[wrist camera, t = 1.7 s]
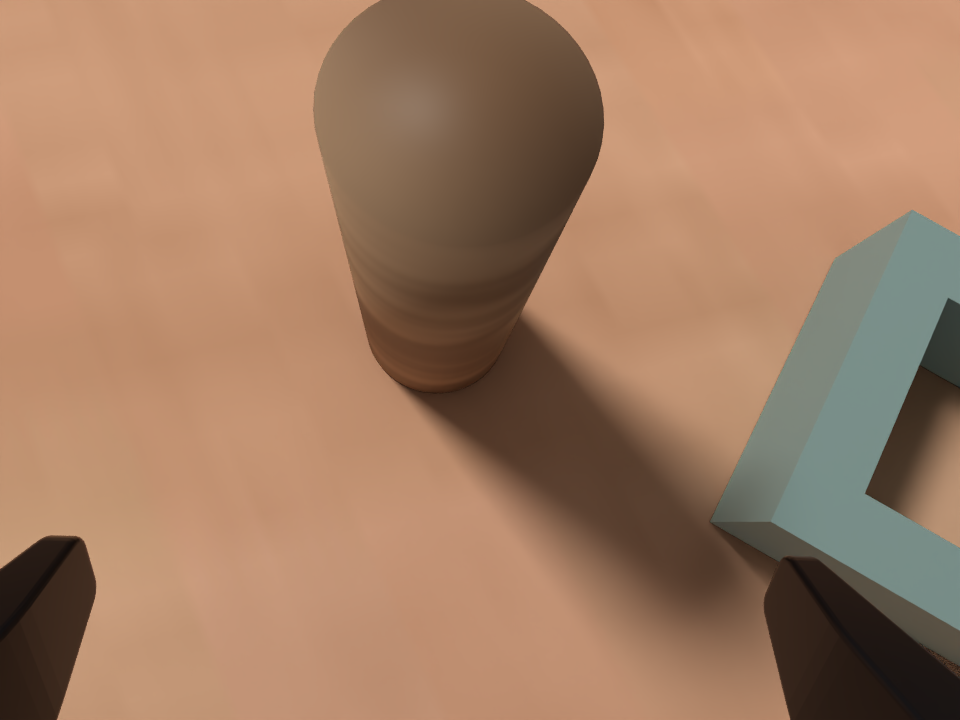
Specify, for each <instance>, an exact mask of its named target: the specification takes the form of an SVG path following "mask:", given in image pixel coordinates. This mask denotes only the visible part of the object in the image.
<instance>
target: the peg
mask: <svg viewBox="0 0 960 720" xmlns="http://www.w3.org/2000/svg"><path fill="white" fill-rule="evenodd" d="M313 112H314V124H315V131H316V135H317V139H318V143H319V148H320V151H321V155H322V159H323V163H324V167H325V171H326V175H327V179H328V183H329V187H330V191H331V195H332V199H333V203H334V207H335V211H336V215H337V219H338V223H339V227H340V231H341V235H342V239H343V243H344V247H345V251H346V254H347V258H348V262H349V266H350V270H351V274H352V278H353V282H354V286H355V290H356V294H357V298H358V302H359V306H360V310H361V314H362V318H363V322H364V326H365V330H366V334H367V338H368V342H369V345H370V348H371V350H372V353H373V355H374V357H375V358H376V360H377V362H378V363H379V364H380V366H381V367H382V368H383V369H384V371H385V372H386V373H387V374H388V375H390V376H391V377H392V378H393V379H395V380H396V381H397V382H399V383H401V384H403V385H404V386H407V387H409V388H411V389H414V390H418V391H421V392H427V393H447V392H452V391H456V390H460V389H462V388H465V387H467V386H469V385H471V384H473V383H475V382H476V381H478V380H479V379H480V378H482V377H483V376H484V375H485V374H486V373H487V372H488V371H489V370H490V369H491V367H492V366H493V365H494V364H495V362H496V360H497V359H498V357H499V355H500V353H501V351H502V349H503V347H504V345H505V343H506V341H507V339H508V337H509V335H510V333H511V331H512V330H513V328H514V326H515V324H516V322H517V320H518V318H519V316H520V314H521V312H522V310H523V308H524V306H525V304H526V302H527V300H528V298H529V296H530V294H531V292H532V290H533V288H534V286H535V284H536V282H537V280H538V278H539V276H540V274H541V272H542V270H543V268H544V266H545V264H546V262H547V260H548V258H549V257H550V255H551V253H552V251H553V249H554V247H555V245H556V243H557V241H558V239H559V237H560V235H561V233H562V231H563V229H564V227H565V225H566V223H567V221H568V219H569V217H570V215H571V213H572V211H573V209H574V207H575V205H576V203H577V201H578V199H579V197H580V195H581V193H582V191H583V189H584V187H585V185H586V184H587V182H588V180H589V178H590V176H591V173H592V171H593V169H594V166H595V164H596V162H597V159H598V156H599V152H600V148H601V144H602V138H603V129H604V112H603V103H602V98H601V92H600V89H599V85H598V82H597V79H596V76H595V74H594V72H593V69H592V67H591V65H590V63H589V61H588V59H587V58H586V56H585V54H584V53H583V51H582V50H581V48H580V47H579V45H578V44H577V43H576V41H575V40H574V39H573V38H572V37H571V35H570V34H569V33H568V32H567V31H566V30H565V29H564V28H563V27H562V26H561V25H560V24H559V23H558V22H557V21H555V20H554V19H553V18H552V17H550V16H549V15H548V14H546V13H545V12H544V11H542V10H541V9H539V8H538V7H536V6H534V5H532V4H531V3H529V2H527V1H525V0H381V1H379V2H377V3H375V4H374V5H372V6H370V7H369V8H367V9H366V10H365V11H363V12H362V13H361V14H360V15H358V16H357V17H356V18H354V19H353V20H352V22H351V23H350V24H349V25H348V26H347V27H346V28H345V29H344V30H343V31H342V32H341V33H340V35H339V36H338V37H337V39H336V40H335V41H334V43H333V44H332V46H331V48H330V49H329V51H328V53H327V55H326V57H325V59H324V61H323V63H322V66H321V69H320V72H319V74H318V78H317V83H316V87H315V92H314V107H313Z"/></svg>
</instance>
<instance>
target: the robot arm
mask: <svg viewBox="0 0 960 720" xmlns="http://www.w3.org/2000/svg"><path fill="white" fill-rule="evenodd" d="M95 594H96V580H95V576H94V572H93V569H92V565H91V562H90V558H89V555H88V551H87V548H86V545H85V543H84V541H83V540H82V539H81V538H80V537H77V536H46V537H44V538H42V539H40V540H39V541H37V542H36V543H34V544H33V545H32V546H30V547H29V548H28V549H26V550H25V551H24V552H22V553H21V554H20V555H18V556H17V557H16V558H14V559H13V560H12V561H10V562H9V563H8V564H6V565H5V566H4V567H2V568H1V569H0V720H57V718H58V715H59V712H60V709H61V706H62V703H63V700H64V697H65V694H66V691H67V687H68V684H69V681H70V678H71V674H72V671H73V668H74V665H75V661H76V658H77V655H78V652H79V648H80V645H81V642H82V639H83V635H84V632H85V629H86V626H87V622H88V619H89V616H90V613H91V609H92V606H93V603H94V599H95ZM764 613H765V618H766V622H767V626H768V630H769V634H770V639H771V643H772V647H773V651H774V655H775V659H776V663H777V667H778V672H779V676H780V680H781V684H782V688H783V692H784V696H785V701H786V705H787V709H788V712H789V716H790V720H960V677H958V676H957V675H956V674H955V673H954V672H952V671H951V670H950V669H949V668H948V667H946V666H945V665H944V664H943V663H942V662H941V661H939V660H938V659H937V658H936V657H935V656H933V655H932V654H931V653H930V652H929V651H927V650H926V649H925V648H924V647H923V646H922V645H920V644H919V643H918V642H917V641H916V640H914V639H913V638H912V637H911V636H910V635H908V634H907V633H906V632H905V631H904V630H902V629H901V628H900V627H899V626H898V625H897V624H895V623H894V622H893V621H892V620H891V619H889V618H888V617H887V616H886V615H885V614H883V613H882V612H881V611H880V610H879V609H877V608H876V607H875V606H874V605H873V604H872V603H870V602H869V601H868V600H867V599H866V598H864V597H863V596H862V595H861V594H860V593H858V592H857V591H856V590H855V589H854V588H852V587H851V586H850V585H849V584H848V583H847V582H845V581H844V580H843V579H842V578H841V577H839V576H838V575H837V574H836V573H835V572H833V571H832V570H831V569H830V568H829V567H827V566H826V565H825V564H824V563H823V562H821V561H820V560H819V559H817V558H815V557H812V556H791V555H788V556H785V557H783V558H782V559H781V560H780V562H779V564H778V566H777V568H776V571H775V573H774V575H773V578H772V580H771V582H770V585H769V587H768V589H767V592H766V594H765V598H764Z"/></svg>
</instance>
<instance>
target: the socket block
mask: <svg viewBox="0 0 960 720" xmlns="http://www.w3.org/2000/svg"><path fill="white" fill-rule="evenodd" d="M919 365H921V366H922V367H924V368H926V369H928V370H929V371H931V372H933V373H935V374H936V375H938V376H940V377H942V378H944V379H945V380H947V381H949V382H951V383H952V384H954V385H956V386H958V387H960V236H958V235H957V234H955V233H953V232H951V231H949V230H948V229H946V228H944V227H942V226H940V225H939V224H937V223H935V222H933V221H932V220H930V219H928V218H926V217H924V216H923V215H921V214H919V213H917V212H915V211H914V210H911V211H910V212H908V213H906V214H905V215H903V216H902V217H900V218H898V219H897V220H895V221H894V222H892V223H891V224H889V225H887V226H886V227H884V228H883V229H881V230H879V231H878V232H876V233H875V234H873V235H871V236H870V237H868V238H867V239H865V240H864V241H862V242H860V243H859V244H857V245H856V246H854V247H852V248H851V249H849V250H848V251H846V252H845V253H843V254H841V255H840V256H838V257H837V258H835V259H834V262H833V264H832V266H831V268H830V270H829V272H828V274H827V276H826V278H825V281H824V283H823V285H822V287H821V289H820V291H819V293H818V295H817V297H816V300H815V302H814V304H813V306H812V308H811V310H810V312H809V314H808V316H807V318H806V321H805V323H804V325H803V327H802V329H801V331H800V333H799V335H798V337H797V340H796V342H795V344H794V346H793V348H792V350H791V352H790V354H789V356H788V358H787V361H786V363H785V365H784V367H783V369H782V371H781V373H780V375H779V377H778V380H777V382H776V384H775V386H774V388H773V390H772V392H771V394H770V396H769V398H768V401H767V403H766V405H765V407H764V409H763V411H762V413H761V415H760V417H759V420H758V422H757V424H756V426H755V428H754V430H753V432H752V434H751V436H750V439H749V441H748V443H747V445H746V447H745V449H744V451H743V453H742V455H741V457H740V460H739V462H738V464H737V466H736V468H735V470H734V472H733V474H732V476H731V479H730V481H729V483H728V485H727V487H726V489H725V491H724V493H723V495H722V497H721V500H720V502H719V504H718V506H717V508H716V510H715V512H714V514H713V516H712V519H711V521H710V522H711V523H712V524H714V525H716V526H718V527H719V528H721V529H723V530H725V531H726V532H728V533H730V534H732V535H733V536H735V537H737V538H738V539H740V540H742V541H744V542H745V543H747V544H749V545H751V546H752V547H754V548H756V549H757V550H759V551H761V552H763V553H764V554H766V555H768V556H770V557H771V558H773V559H775V560H776V561H778V562H780V560H781V559H782V558H783V557H785V556H788V555H791V556H812V557H815V558H817V559H819V560H820V561H821V562H823V563H824V564H825V565H826V566H827V567H829V568H830V569H831V570H832V571H833V572H835V573H836V574H837V575H838V576H839V577H841V578H842V579H843V580H844V581H845V582H847V583H848V584H849V585H850V586H851V587H852V588H854V589H855V590H856V591H857V592H858V593H860V594H861V595H862V596H863V597H864V598H866V599H867V600H868V601H869V602H870V603H872V604H873V605H874V606H875V607H876V608H877V609H879V610H880V611H881V612H882V613H883V614H885V615H886V616H887V617H888V618H889V619H891V620H892V621H893V622H894V623H895V624H897V625H898V626H899V627H900V628H901V629H902V630H904V631H905V632H906V633H907V634H908V635H910V636H911V637H912V638H913V639H914V640H916V641H917V642H918V643H920V644H922V645H923V646H925V647H927V648H929V649H930V650H932V651H934V652H936V653H937V654H939V655H941V656H942V657H944V658H946V659H948V660H949V661H951V662H953V663H955V664H956V665H958V666H960V548H959V547H957V546H955V545H954V544H952V543H950V542H948V541H947V540H945V539H943V538H941V537H940V536H938V535H936V534H934V533H933V532H931V531H929V530H927V529H926V528H924V527H922V526H920V525H919V524H917V523H915V522H913V521H912V520H910V519H908V518H906V517H905V516H903V515H901V514H899V513H898V512H896V511H894V510H892V509H891V508H889V507H887V506H886V505H884V504H882V503H880V502H879V501H877V500H875V499H873V498H872V497H870V496H868V495H866V494H865V492H866V489H867V487H868V485H869V482H870V480H871V478H872V475H873V473H874V471H875V468H876V466H877V464H878V461H879V459H880V456H881V454H882V452H883V449H884V447H885V445H886V442H887V440H888V438H889V435H890V433H891V431H892V428H893V426H894V424H895V421H896V419H897V417H898V414H899V412H900V409H901V407H902V405H903V402H904V400H905V398H906V395H907V393H908V391H909V388H910V386H911V384H912V381H913V379H914V377H915V374H916V372H917V370H918V367H919Z"/></svg>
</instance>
